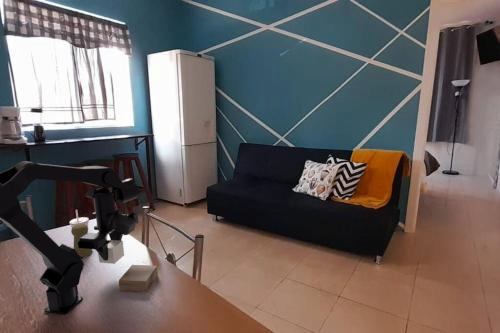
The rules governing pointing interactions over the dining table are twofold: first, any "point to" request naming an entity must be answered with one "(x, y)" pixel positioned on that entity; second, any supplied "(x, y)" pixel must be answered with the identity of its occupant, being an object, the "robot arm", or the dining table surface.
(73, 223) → the smoothie
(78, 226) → the olive drink cup
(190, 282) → the dining table surface
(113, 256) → the white cube
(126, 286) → the tan flat block
